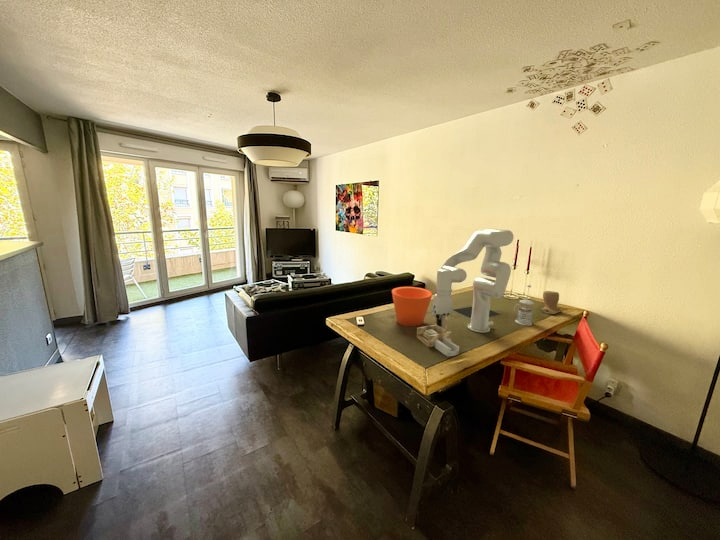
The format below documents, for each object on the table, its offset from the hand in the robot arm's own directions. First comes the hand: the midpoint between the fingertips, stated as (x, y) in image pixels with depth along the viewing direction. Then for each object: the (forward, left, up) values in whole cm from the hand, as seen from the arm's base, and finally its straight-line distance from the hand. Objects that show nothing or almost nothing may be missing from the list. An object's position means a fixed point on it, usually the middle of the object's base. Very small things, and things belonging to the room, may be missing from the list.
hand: (440, 324), depth 145 cm
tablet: (-53, -27, -10) cm, 60 cm away
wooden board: (0, 0, -6) cm, 6 cm away
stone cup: (-105, -10, -9) cm, 106 cm away
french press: (-68, -3, -9) cm, 68 cm away
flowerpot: (+1, -28, -9) cm, 29 cm away
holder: (+5, +12, -9) cm, 16 cm away
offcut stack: (+6, 0, -8) cm, 10 cm away
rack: (+4, 0, -9) cm, 10 cm away
